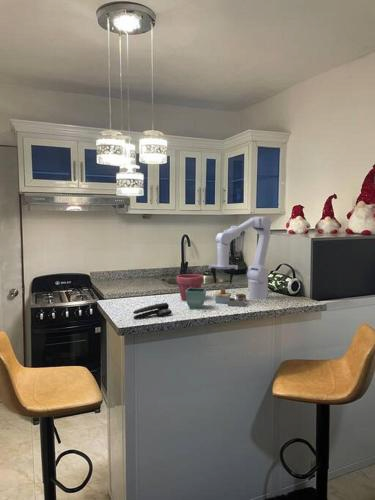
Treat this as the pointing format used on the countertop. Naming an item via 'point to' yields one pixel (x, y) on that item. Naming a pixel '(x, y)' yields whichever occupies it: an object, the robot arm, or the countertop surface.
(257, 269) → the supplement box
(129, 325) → the countertop surface
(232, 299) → the tray
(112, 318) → the countertop surface
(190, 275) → the plant pot
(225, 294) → the lid
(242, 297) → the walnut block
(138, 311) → the can opener
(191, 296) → the flower pot
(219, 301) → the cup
